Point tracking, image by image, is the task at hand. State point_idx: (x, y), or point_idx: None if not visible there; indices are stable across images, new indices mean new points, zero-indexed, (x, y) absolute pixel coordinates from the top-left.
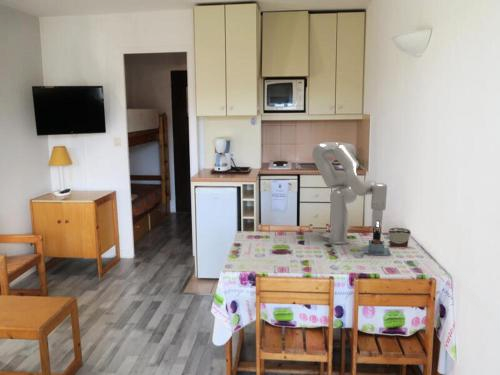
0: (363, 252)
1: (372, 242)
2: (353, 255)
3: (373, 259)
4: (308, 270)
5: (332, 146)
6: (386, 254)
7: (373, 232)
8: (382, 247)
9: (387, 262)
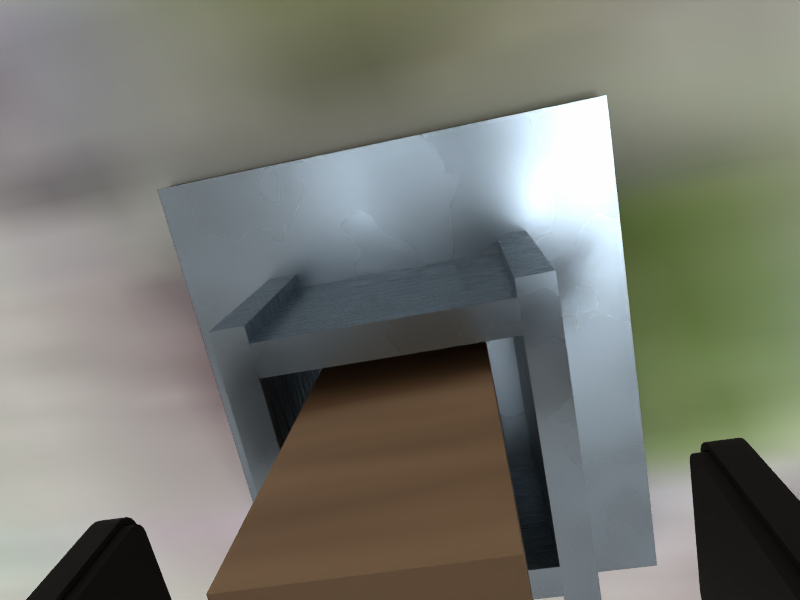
0: (177, 195)
1: (461, 363)
2: (3, 33)
3: (12, 393)
4: None
5: None
6: None
7: (343, 589)
8: None
9: (9, 576)
